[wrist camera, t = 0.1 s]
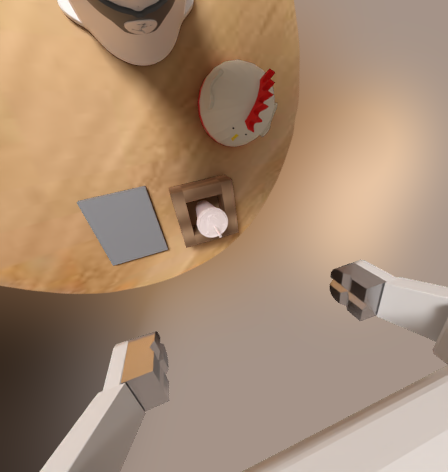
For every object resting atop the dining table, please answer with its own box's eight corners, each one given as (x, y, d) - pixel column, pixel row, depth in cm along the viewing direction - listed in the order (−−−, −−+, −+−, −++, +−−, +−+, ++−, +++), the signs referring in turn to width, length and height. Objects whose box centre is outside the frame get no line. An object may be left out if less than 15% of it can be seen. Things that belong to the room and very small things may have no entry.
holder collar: (168, 187, 43) (170, 194, 39) (224, 174, 45) (231, 179, 41) (183, 237, 50) (186, 247, 45) (231, 223, 52) (238, 232, 48)
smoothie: (196, 223, 49) (209, 254, 37) (185, 201, 45) (196, 227, 34) (219, 213, 49) (240, 239, 38) (210, 190, 46) (229, 211, 34)
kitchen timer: (188, 129, 39) (205, 130, 26) (212, 45, 34) (246, -2, 22) (246, 155, 45) (283, 166, 32) (274, 87, 40) (329, 69, 27)
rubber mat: (78, 201, 39) (76, 202, 38) (145, 185, 41) (144, 187, 40) (113, 263, 47) (113, 265, 46) (167, 247, 50) (167, 249, 49)
